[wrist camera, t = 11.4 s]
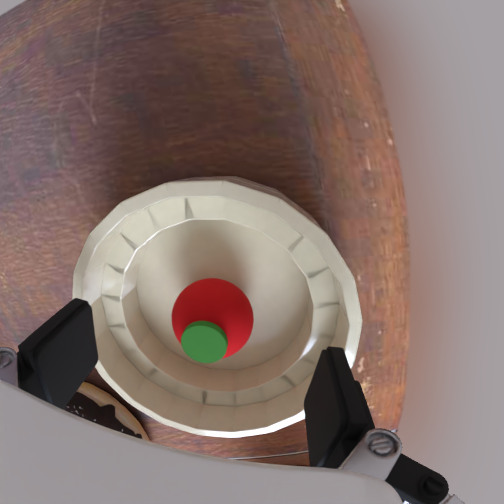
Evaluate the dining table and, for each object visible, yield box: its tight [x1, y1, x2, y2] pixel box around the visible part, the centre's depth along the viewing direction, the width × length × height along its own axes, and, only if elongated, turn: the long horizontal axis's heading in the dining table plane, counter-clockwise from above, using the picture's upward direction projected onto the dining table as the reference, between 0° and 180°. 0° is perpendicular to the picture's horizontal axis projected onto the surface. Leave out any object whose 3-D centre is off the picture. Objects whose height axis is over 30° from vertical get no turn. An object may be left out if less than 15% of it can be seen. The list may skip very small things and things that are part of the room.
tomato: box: [171, 278, 254, 363], centre depth 14 cm, size 4×4×4 cm
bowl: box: [72, 176, 363, 438], centre depth 14 cm, size 13×13×5 cm
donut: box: [63, 382, 150, 441], centre depth 19 cm, size 11×12×4 cm
